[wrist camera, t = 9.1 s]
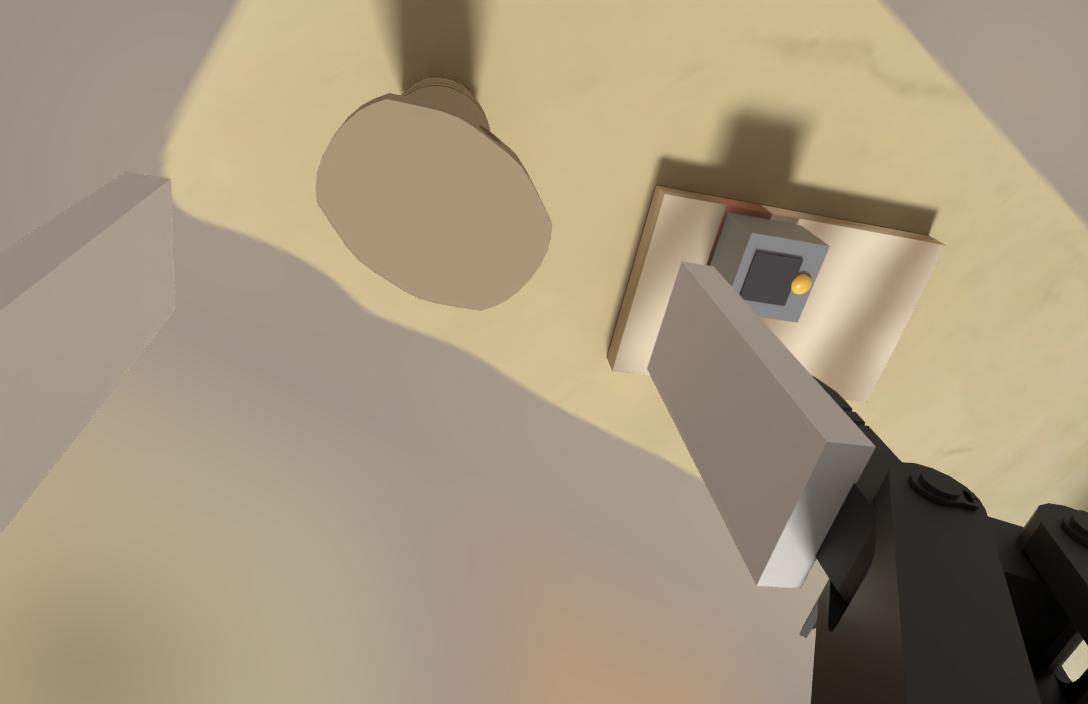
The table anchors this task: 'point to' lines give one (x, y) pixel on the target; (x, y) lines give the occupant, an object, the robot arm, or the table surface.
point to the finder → (769, 264)
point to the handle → (434, 197)
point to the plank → (830, 311)
